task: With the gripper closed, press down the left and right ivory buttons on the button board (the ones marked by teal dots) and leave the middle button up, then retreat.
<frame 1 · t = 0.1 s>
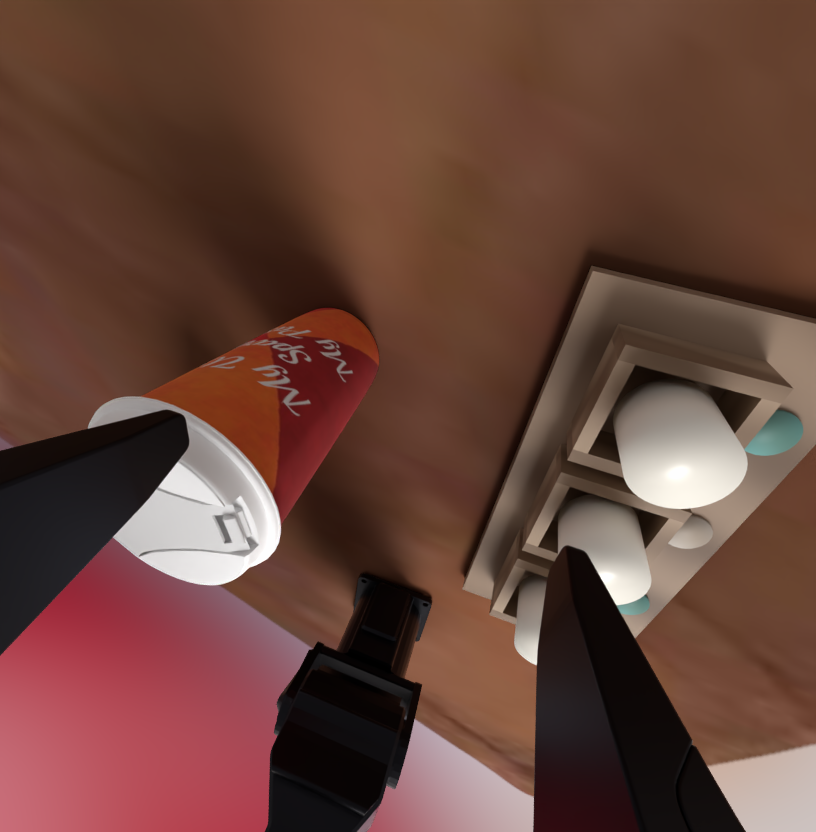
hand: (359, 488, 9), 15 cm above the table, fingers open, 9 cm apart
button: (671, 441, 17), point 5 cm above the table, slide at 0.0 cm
button mid: (599, 548, 21), point 5 cm above the table, slide at 0.0 cm
board: (610, 495, 25), on the table
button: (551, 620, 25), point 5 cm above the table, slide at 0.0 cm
paper cup: (336, 351, 25), on the table
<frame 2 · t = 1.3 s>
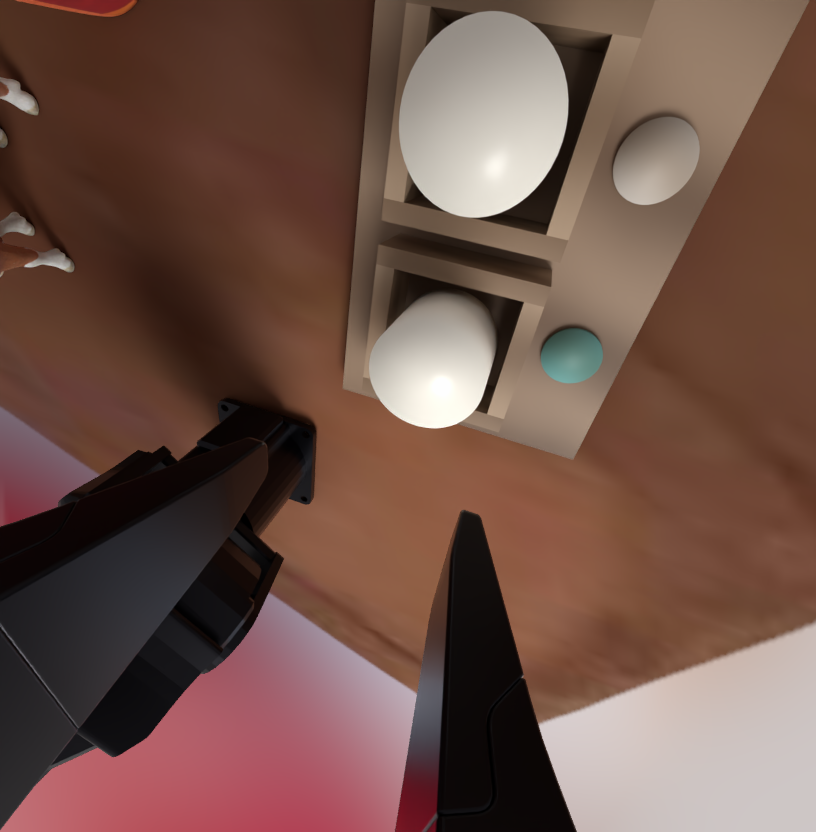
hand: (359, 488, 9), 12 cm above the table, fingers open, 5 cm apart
button mid: (488, 128, 11), point 4 cm above the table, slide at 0.0 cm
board: (532, 139, 15), on the table
bull figurine: (39, 202, 23), on the table
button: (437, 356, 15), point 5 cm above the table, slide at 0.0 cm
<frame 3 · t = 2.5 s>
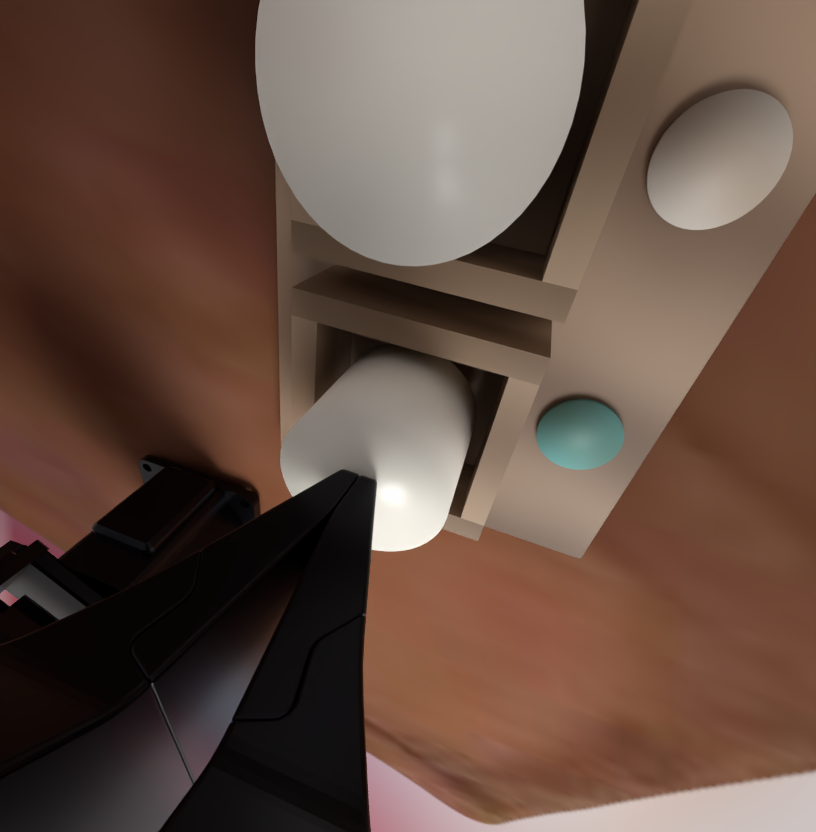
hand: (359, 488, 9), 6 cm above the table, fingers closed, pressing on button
button mid: (438, 105, 6), point 5 cm above the table, slide at 0.0 cm
board: (522, 129, 10), on the table
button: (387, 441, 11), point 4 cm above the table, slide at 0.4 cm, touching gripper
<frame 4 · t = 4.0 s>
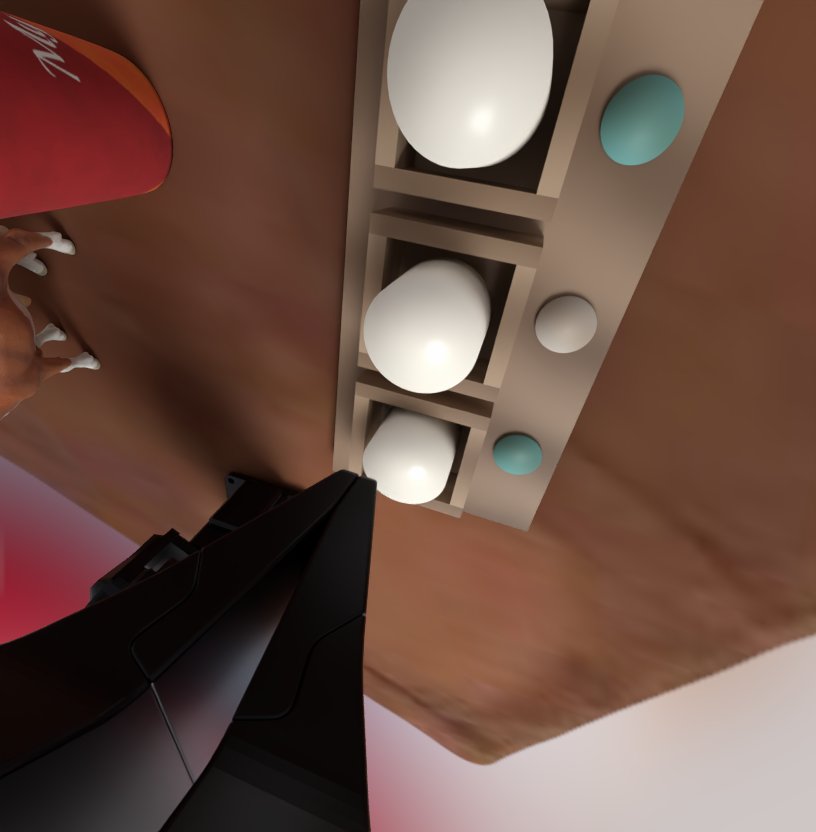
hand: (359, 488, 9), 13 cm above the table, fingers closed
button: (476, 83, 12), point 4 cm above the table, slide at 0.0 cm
button mid: (431, 322, 15), point 4 cm above the table, slide at 0.0 cm
board: (475, 296, 19), on the table
bull figurine: (71, 315, 27), on the table
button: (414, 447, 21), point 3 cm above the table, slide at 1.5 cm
paper cup: (124, 127, 20), on the table
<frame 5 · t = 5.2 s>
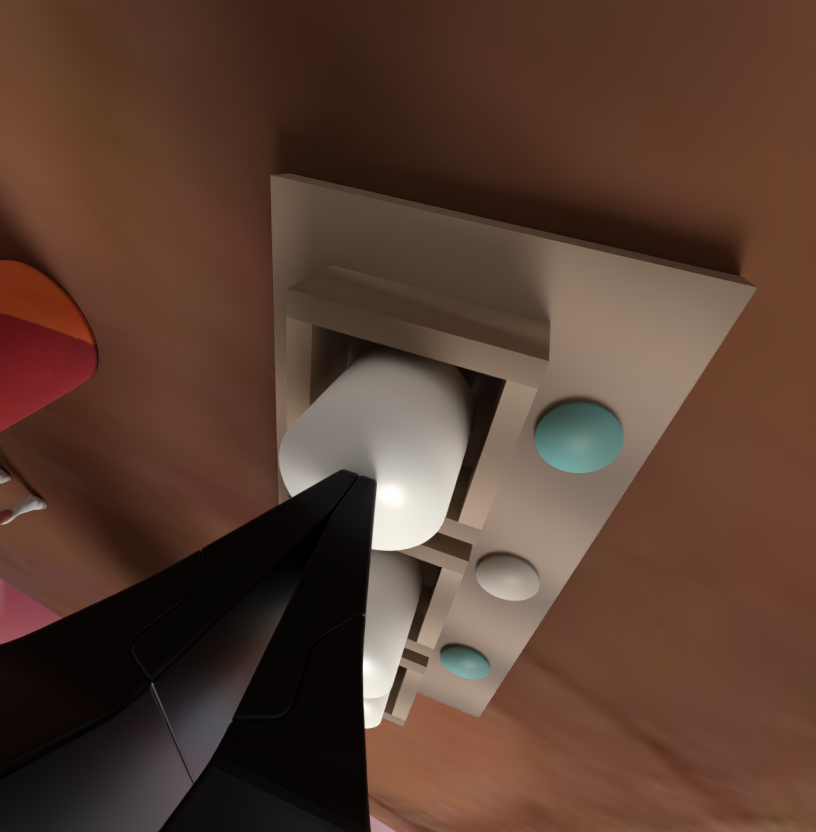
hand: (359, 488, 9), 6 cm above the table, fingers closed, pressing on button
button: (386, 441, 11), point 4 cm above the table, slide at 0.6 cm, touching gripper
button mid: (354, 608, 14), point 5 cm above the table, slide at 0.0 cm
board: (417, 523, 18), on the table
bull figurine: (14, 460, 26), on the table
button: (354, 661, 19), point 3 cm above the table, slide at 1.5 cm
paper cup: (47, 323, 18), on the table
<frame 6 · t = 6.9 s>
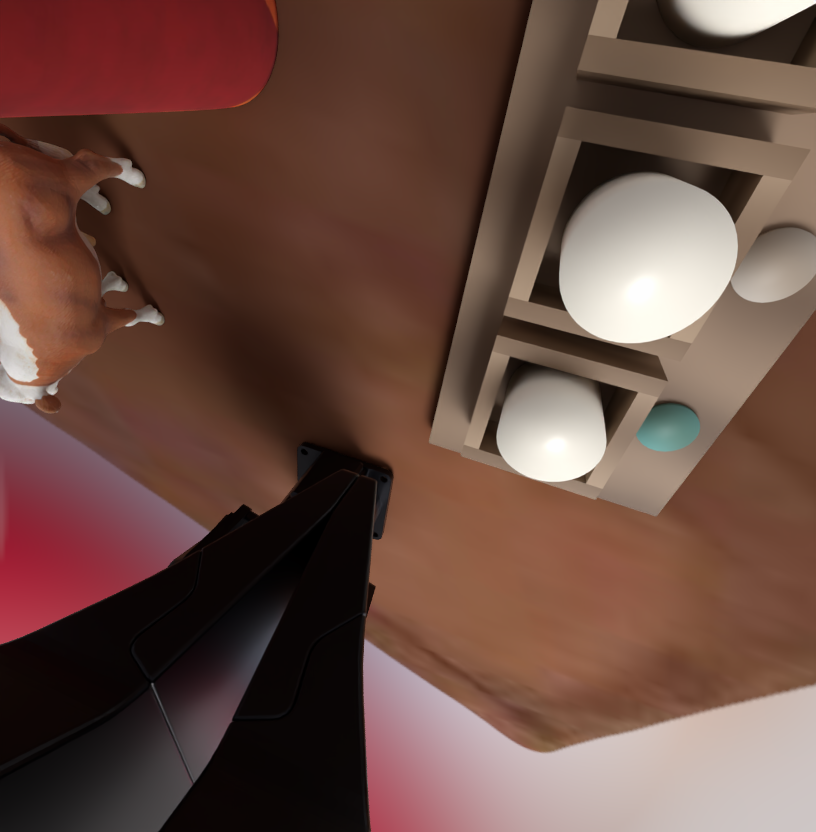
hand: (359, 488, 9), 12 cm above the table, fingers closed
button mid: (633, 254, 12), point 4 cm above the table, slide at 0.0 cm
board: (646, 233, 16), on the table
bull figurine: (135, 262, 24), on the table
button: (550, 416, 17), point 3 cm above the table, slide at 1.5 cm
paper cup: (217, 19, 16), on the table
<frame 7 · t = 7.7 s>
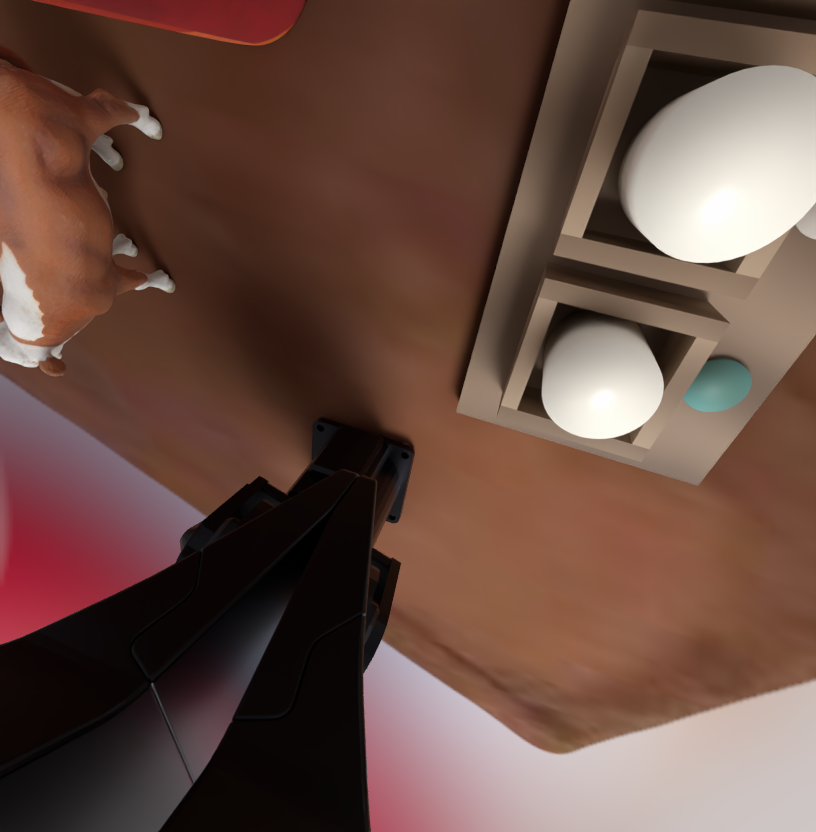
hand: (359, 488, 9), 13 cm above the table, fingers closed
button mid: (707, 171, 11), point 4 cm above the table, slide at 0.0 cm
board: (700, 172, 15), on the table
bull figurine: (146, 224, 23), on the table
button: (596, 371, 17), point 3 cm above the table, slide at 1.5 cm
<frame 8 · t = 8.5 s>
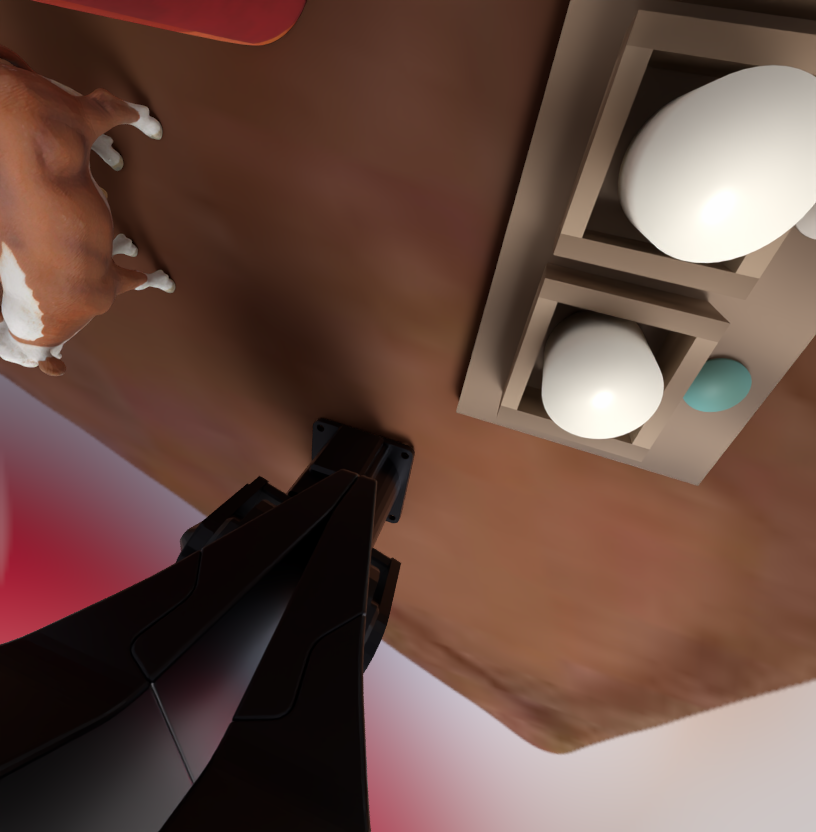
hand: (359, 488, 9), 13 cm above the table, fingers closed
button mid: (707, 171, 11), point 4 cm above the table, slide at 0.0 cm
board: (700, 172, 15), on the table
bull figurine: (146, 224, 23), on the table
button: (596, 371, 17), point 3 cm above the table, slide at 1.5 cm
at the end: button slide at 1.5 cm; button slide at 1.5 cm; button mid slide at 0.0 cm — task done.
